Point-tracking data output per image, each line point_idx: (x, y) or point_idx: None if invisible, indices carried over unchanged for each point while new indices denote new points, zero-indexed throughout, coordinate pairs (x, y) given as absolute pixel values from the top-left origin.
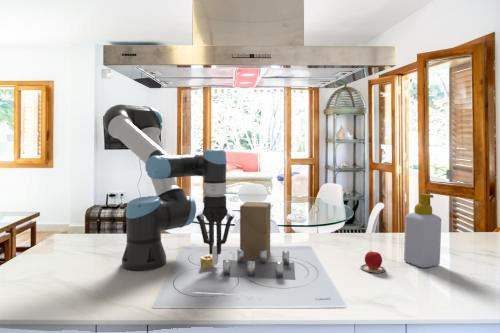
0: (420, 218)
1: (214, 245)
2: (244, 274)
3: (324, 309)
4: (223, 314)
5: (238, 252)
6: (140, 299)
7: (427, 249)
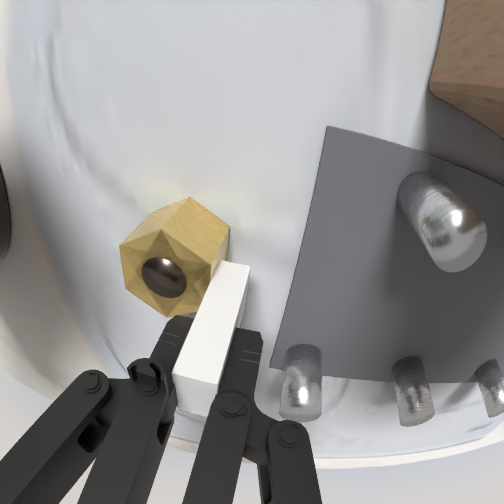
0: None
1: (194, 408)
2: (384, 360)
3: (451, 447)
4: None
5: (430, 255)
6: None
7: None
